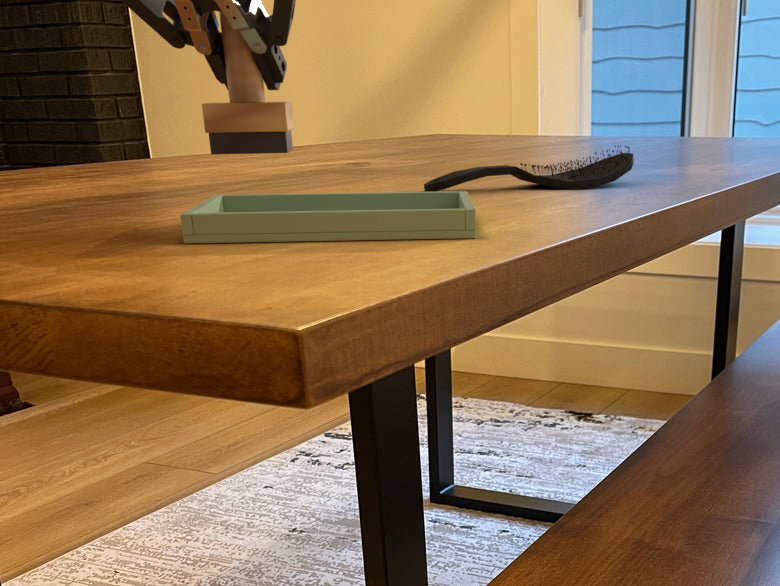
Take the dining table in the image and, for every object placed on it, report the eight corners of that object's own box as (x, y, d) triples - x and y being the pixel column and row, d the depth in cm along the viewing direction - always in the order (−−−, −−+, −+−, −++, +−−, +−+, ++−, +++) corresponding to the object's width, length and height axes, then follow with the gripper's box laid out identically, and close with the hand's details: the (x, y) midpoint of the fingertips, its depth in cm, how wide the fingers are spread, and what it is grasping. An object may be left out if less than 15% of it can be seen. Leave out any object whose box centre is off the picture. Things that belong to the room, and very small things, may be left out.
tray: (183, 243, 74) (179, 214, 73) (217, 220, 86) (214, 194, 85) (476, 238, 75) (475, 209, 74) (467, 216, 88) (467, 191, 87)
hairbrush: (410, 161, 108) (611, 142, 117) (413, 197, 110) (611, 175, 119) (437, 167, 101) (649, 147, 110) (440, 205, 103) (648, 182, 112)
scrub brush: (207, 154, 74) (187, -5, 70) (217, 151, 77) (199, -1, 73) (290, 153, 74) (274, -6, 70) (296, 149, 78) (282, -2, 74)
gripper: (273, -189, 60) (353, 42, 76) (61, -176, 62) (182, 46, 78) (247, -101, 57) (335, 120, 73) (27, -90, 60) (159, 122, 75)
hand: (255, 81), depth 76 cm, fingers closed on scrub brush, 2 cm apart
